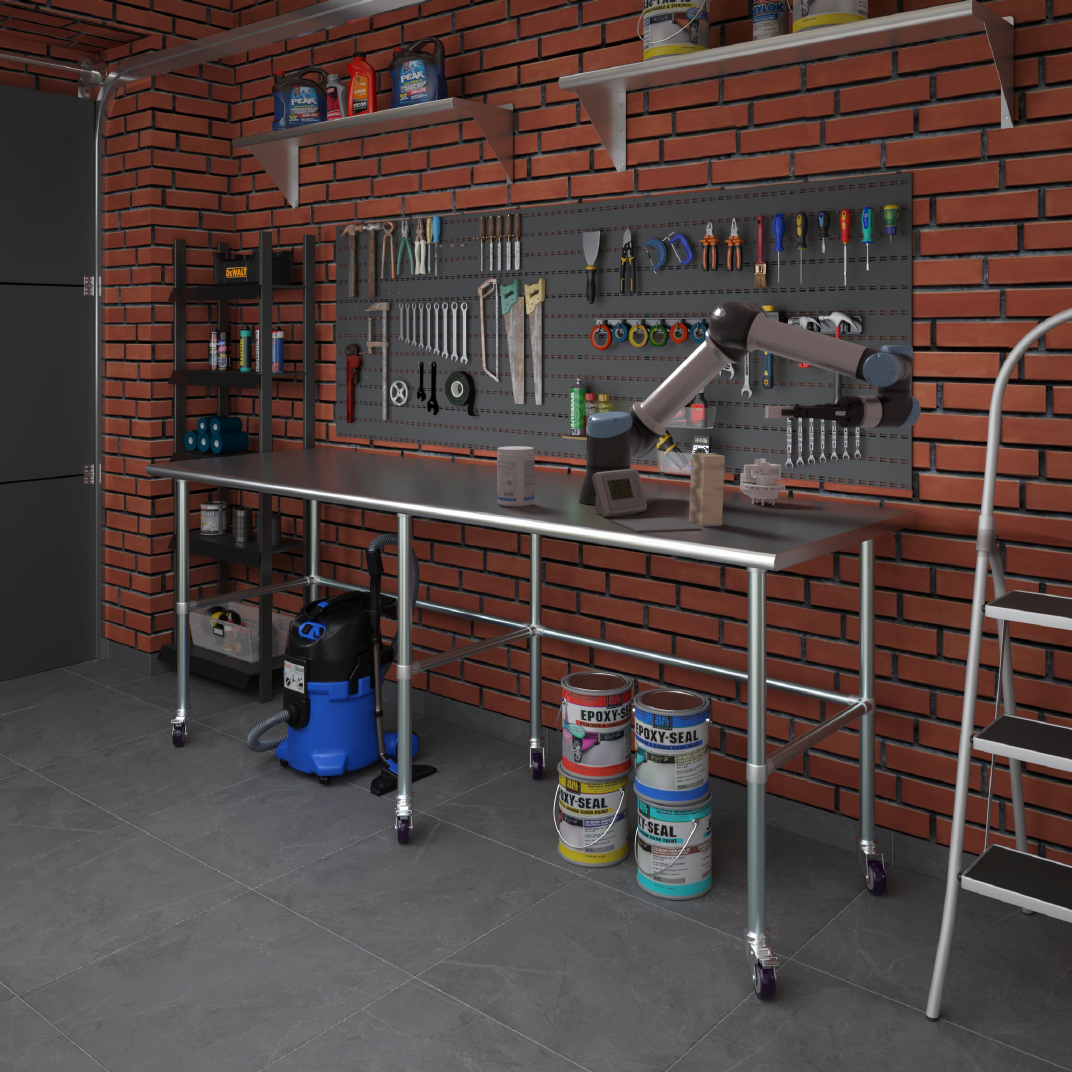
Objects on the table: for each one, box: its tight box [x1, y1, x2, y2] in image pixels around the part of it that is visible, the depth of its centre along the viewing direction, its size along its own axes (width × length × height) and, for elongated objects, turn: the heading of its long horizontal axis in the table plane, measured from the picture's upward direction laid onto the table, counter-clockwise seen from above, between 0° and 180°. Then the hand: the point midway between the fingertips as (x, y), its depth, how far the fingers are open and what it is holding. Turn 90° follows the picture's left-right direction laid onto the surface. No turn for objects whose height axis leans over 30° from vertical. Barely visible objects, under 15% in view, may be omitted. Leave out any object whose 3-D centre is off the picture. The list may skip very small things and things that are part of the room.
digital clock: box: [593, 468, 648, 518], centre depth 253 cm, size 16×9×11 cm, turn 124°
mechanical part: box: [739, 458, 786, 506], centre depth 274 cm, size 11×12×12 cm
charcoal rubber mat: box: [611, 517, 703, 533], centre depth 236 cm, size 16×16×1 cm
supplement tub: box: [496, 445, 535, 508], centre depth 266 cm, size 10×10×15 cm
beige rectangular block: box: [688, 452, 726, 528], centre depth 238 cm, size 7×5×16 cm
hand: (766, 412), depth 239 cm, fingers closed
